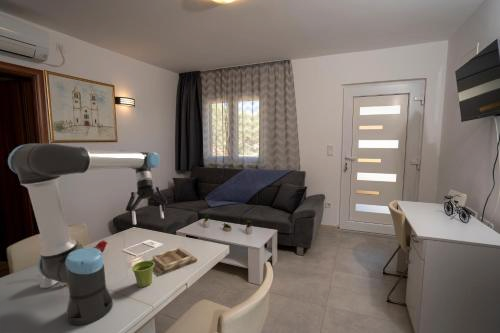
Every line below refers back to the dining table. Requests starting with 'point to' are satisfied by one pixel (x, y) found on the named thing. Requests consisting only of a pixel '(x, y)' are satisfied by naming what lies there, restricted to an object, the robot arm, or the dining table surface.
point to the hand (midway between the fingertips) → (148, 221)
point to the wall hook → (46, 281)
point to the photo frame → (147, 242)
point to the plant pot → (143, 272)
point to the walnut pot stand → (172, 260)
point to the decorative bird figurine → (101, 246)
